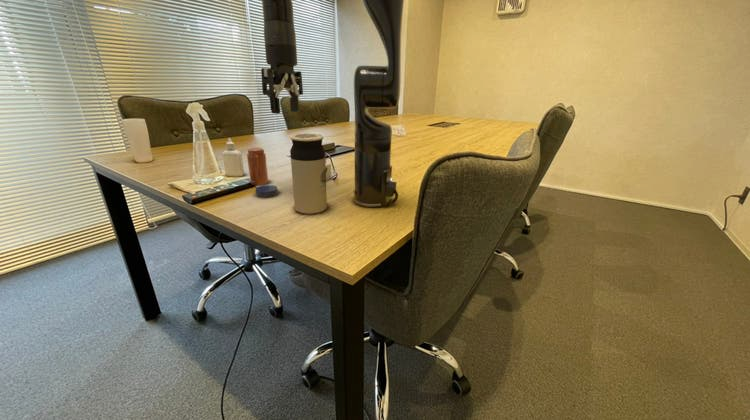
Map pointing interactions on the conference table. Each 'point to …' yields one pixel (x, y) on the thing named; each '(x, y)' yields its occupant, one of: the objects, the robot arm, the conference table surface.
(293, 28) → the robot arm
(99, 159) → the conference table surface
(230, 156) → the eye dropper bottle
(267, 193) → the lid
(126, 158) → the conference table surface
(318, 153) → the travel mug
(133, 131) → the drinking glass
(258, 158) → the jar
